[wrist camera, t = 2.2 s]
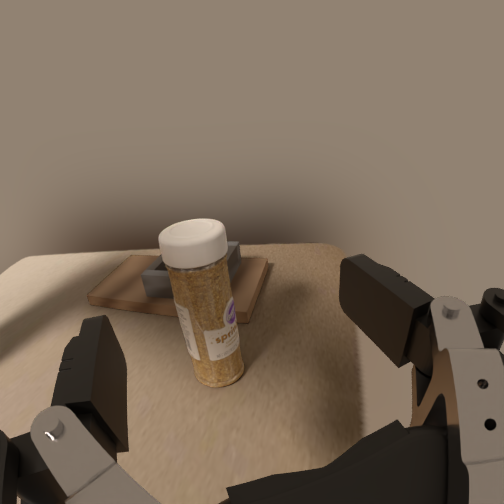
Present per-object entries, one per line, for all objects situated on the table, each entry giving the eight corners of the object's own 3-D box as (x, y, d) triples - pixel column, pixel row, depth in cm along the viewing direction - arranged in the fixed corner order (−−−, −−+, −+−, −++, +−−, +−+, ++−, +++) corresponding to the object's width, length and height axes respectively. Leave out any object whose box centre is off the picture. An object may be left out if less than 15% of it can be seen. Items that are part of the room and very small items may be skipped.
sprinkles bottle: (244, 388, 24) (221, 238, 18) (191, 389, 24) (148, 244, 18) (245, 351, 28) (227, 213, 22) (197, 353, 28) (166, 219, 22)
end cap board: (90, 304, 37) (79, 275, 35) (133, 263, 47) (126, 237, 45) (248, 323, 32) (243, 287, 30) (268, 268, 42) (265, 237, 40)
